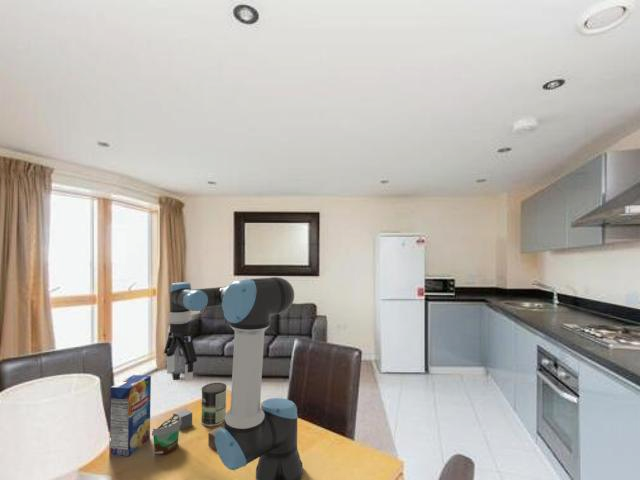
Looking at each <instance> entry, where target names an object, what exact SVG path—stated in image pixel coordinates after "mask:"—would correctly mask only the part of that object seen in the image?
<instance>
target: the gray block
mask: <svg viewBox="0 0 640 480" xmlns="http://www.w3.org/2000/svg"><path fill="white" fill-rule="evenodd" d="M174 414H178V415H179V416H180V418H181V422H182V423H181V426H180V427H179V430H183V429H185V428H188V427H189V426H192V425H193V412H192V411H191V410H189V409H183V410H180V411H178V412H176V413H174Z"/></svg>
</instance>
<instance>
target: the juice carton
mask: <svg viewBox="0 0 640 480" xmlns="http://www.w3.org/2000/svg"><path fill="white" fill-rule="evenodd" d="M151 378H152V375H144V374H143V375H140V374H132V375H131V376H128V377H127V378H125V379H124V380H122V381H120V382H117V383H116V384H114V385H112V386H110V393H109V394H110V397H109V398H110V400H109V401H110V403H109V407H110V408H109V409H110V410H109V439H110V438H111V441H110V440H109V444H108V445H109V448H108V449H109V450H108V451H109V452H108V453H109V456H115V457H124V458H125V457H126V458H128V457H130V456H131V455H132V454H134V453H135V451H137V450H138V449H139V448H140V447H141V446H142V445H144V444H145V443H146V442H147V441H149V440H150V439H151V401H152V400H151V395H152V393H151V391H152V390H151V389H152V387H151V386H152V385H151V384H152V383H151V382H152V379H151Z"/></svg>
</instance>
